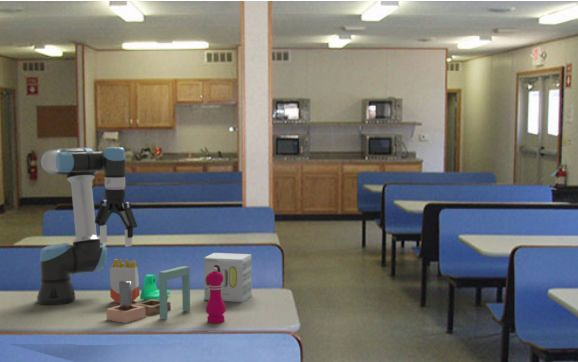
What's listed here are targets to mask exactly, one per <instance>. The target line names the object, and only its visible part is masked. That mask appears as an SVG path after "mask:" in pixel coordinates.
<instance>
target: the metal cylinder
mask: <svg viewBox="0 0 578 362" xmlns="http://www.w3.org/2000/svg"><path fill="white" fill-rule="evenodd" d="M119 292H120V303H119V305H120V310H123V311H127V310H130V309H132V304H133V301H132V287H131V281H130V280H123V281H120V282H119Z"/></svg>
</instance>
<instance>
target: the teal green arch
mask: <svg viewBox="0 0 578 362" xmlns="http://www.w3.org/2000/svg"><path fill="white" fill-rule="evenodd" d="M190 267H191V266H185V265H182V266H178V267H174V268H171V269H170V268H169V269H166V270H165V269H164V270H162V271H161V270H160V271H158V286H159V287H158V288H159V289H158V290H159V301H160V313H159V318H161V319H165V320H166V319H168V311H167V302H168V295H167V290H168V281H169V280H173V279H178V278H181V281H182V282H181V284H182V285H181V288H182V289H181V290H182V291H181V293H182V311H183V312H191V294H190V293H191V280H190V279H191V278H190V276H191V274H190V273H191V272H190Z"/></svg>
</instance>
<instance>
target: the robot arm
mask: <svg viewBox="0 0 578 362" xmlns="http://www.w3.org/2000/svg"><path fill="white" fill-rule="evenodd" d="M38 163H39V164H38V165H39V167H40V169H41V170H42V171H43V172H44V173H46V174H50V175H53V176H66V180H67V182H69V183H70V187H71V198H72V207H73V208H72V209H73V219H74V230H75V239H74V240H73V241H72V246H71V245H70V243H68V242H67V243H66V242H63V243H56V244H51V245H47V246H45V247H43V248H42V249H41V250H40V253H39V254H40V256H39V257H40V258H39V262H40V287H39V290H38V293H37V296H36V302H37V304H39V305H47V306H54V305H63V304H68V303H72V302H74V301H75V300H76V292H75V290H74V286H73V284H72V281H71V275H74V274H85V273H86V274H87V273H94V272H100V271H102V270H103V269H104V268H105V266H106V264H107V258H108V257H107V256H108V252H107V251H108V249H107V245H106V243H107V242H108V240H107V239H108V237H107V236H108V235H107V231H108V229H107V227H108V225H107V224H106V223H107V221H108V220H109V218H110V217H111V215H112V214H116V215H118V216H119V218H120V219H121V221H122V223H123V224H124V226H125V229H124V247H125V248H128V247H132V245H133V236H134V229H135V228H137V227H138V223H137V221H136V218H135V216H134V213H133V210H132V206H131V202H130V201H126V202H125V201H124V200H125V199H126V189H125V188H126V152H125V148H124V147H119V146H111V147H110V146H109V147H108V146H107V147H105V148H104V150H100V151H94V150H93V149H92V148H90V147H89V148H88V147H82V146H81V147H67V148H66V147H64V148H63V147H57V148H55V147H54V148H50V149H49V150H48V149H47V150H46V151H44V152H43V153H41V155H40V157H39V160H38ZM99 172H104V188H105V189H104V198H105V199H102V200H100V201H99V208H98V211H97V213H96V214H95V203H94V193H93V183H92V181H93V180H95V178H96V177H95V176H96V174H98V173H99ZM96 224H97V225H98V233H99V236H98V235H97V234H98V233H97V225H96Z"/></svg>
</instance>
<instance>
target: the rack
mask: <svg viewBox="0 0 578 362" xmlns="http://www.w3.org/2000/svg"><path fill="white" fill-rule="evenodd" d="M144 317H145V318H146V317H147V316H146V314H145V307H143V306H138V305H134V303H132V309H130V310H127V311H123V310H120V304H119V305H116V306H112V307H109V308H106V320H107V321H111V320H112V322H116V321H117V323H121V322H122V324H128V322H129V323H131V321H132V322H135V321H139V320H141V318H142V319H145V318H144ZM134 320H135V321H134Z"/></svg>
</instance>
